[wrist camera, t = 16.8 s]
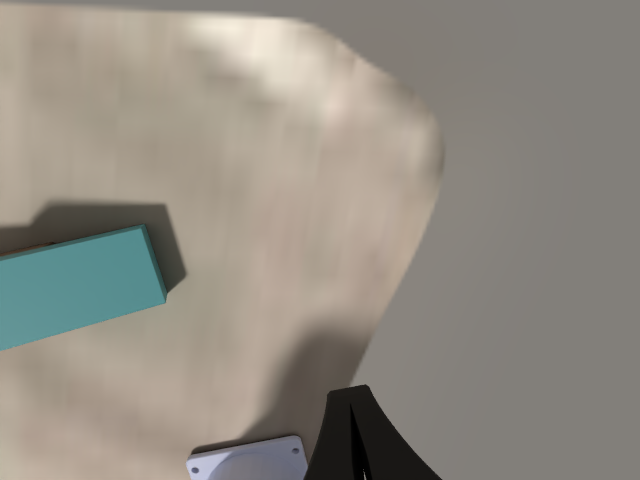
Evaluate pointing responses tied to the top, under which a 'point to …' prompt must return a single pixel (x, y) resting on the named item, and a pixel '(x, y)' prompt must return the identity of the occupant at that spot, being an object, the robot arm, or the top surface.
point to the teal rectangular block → (77, 284)
